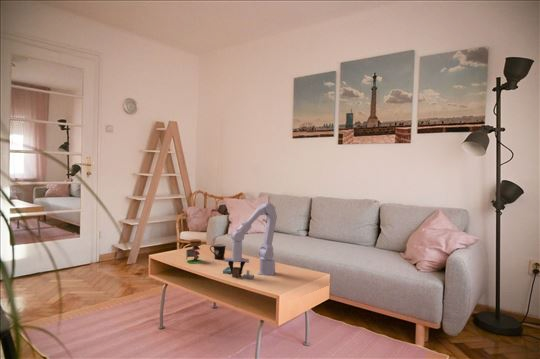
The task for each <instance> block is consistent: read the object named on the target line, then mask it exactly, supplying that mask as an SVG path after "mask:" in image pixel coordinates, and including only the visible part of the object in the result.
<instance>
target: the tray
mask: <svg viewBox="0 0 540 359" xmlns="http://www.w3.org/2000/svg"><path fill="white" fill-rule="evenodd" d="M234 267H235V266H233V268H234ZM222 274H225V275H226V274H228V275H232V274H231V269H230V267H229V266H226V267H225V268H224V269H223V270H222Z"/></svg>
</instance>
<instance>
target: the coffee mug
mask: <svg viewBox="0 0 540 359" xmlns="http://www.w3.org/2000/svg"><path fill="white" fill-rule="evenodd" d="M212 248H213V250H212ZM209 250H210V252H211V253H213V255H214V260H218V261H219V260H220V261H221V260H225V254H226V244H224V243H216V244H213V245H210V247H209Z"/></svg>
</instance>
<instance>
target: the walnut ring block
mask: <svg viewBox="0 0 540 359" xmlns="http://www.w3.org/2000/svg"><path fill="white" fill-rule="evenodd" d="M233 267H234V268H233V269H232V274H231V277H232V278H236V279H237V278H240V277H242V274H241V275H240V266H239V267H238V266H233Z"/></svg>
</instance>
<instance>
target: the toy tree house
mask: <svg viewBox="0 0 540 359" xmlns="http://www.w3.org/2000/svg"><path fill="white" fill-rule="evenodd" d="M201 245H202V240H201V239H190V240H189V246H190V247H191V248H189V249H186V250H185V260H186V262H187V263H188V264H190V265H191V264H194V265H196V264H197V263H198V264H201V263H203V262H204V260H203V259H199V258H200V256H199V255H200V252H199V250H201V248H200V247H201ZM188 258H192V259H189V260H188ZM198 264H197V265H198Z"/></svg>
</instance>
